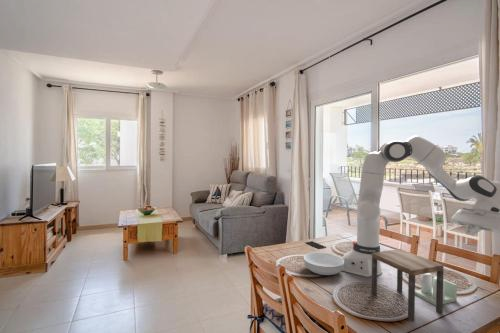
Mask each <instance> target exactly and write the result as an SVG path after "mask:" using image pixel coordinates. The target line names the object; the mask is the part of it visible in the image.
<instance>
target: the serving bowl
mask: <svg viewBox="0 0 500 333" xmlns="http://www.w3.org/2000/svg"><path fill="white" fill-rule="evenodd" d="M342 258H343V257H340V256H338V255H335V254H333V253H326V252H310V253H306V254H305V255H304V256H303V262H304V265H305V267H306V268H307V269H308V270H309V271H311V273H314V274H317V275H320V276H321V275H322V276H331V275H336V274H338V273H340V272H342V271H341V270H342V269H343V266H344V260H343V259H342Z"/></svg>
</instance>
